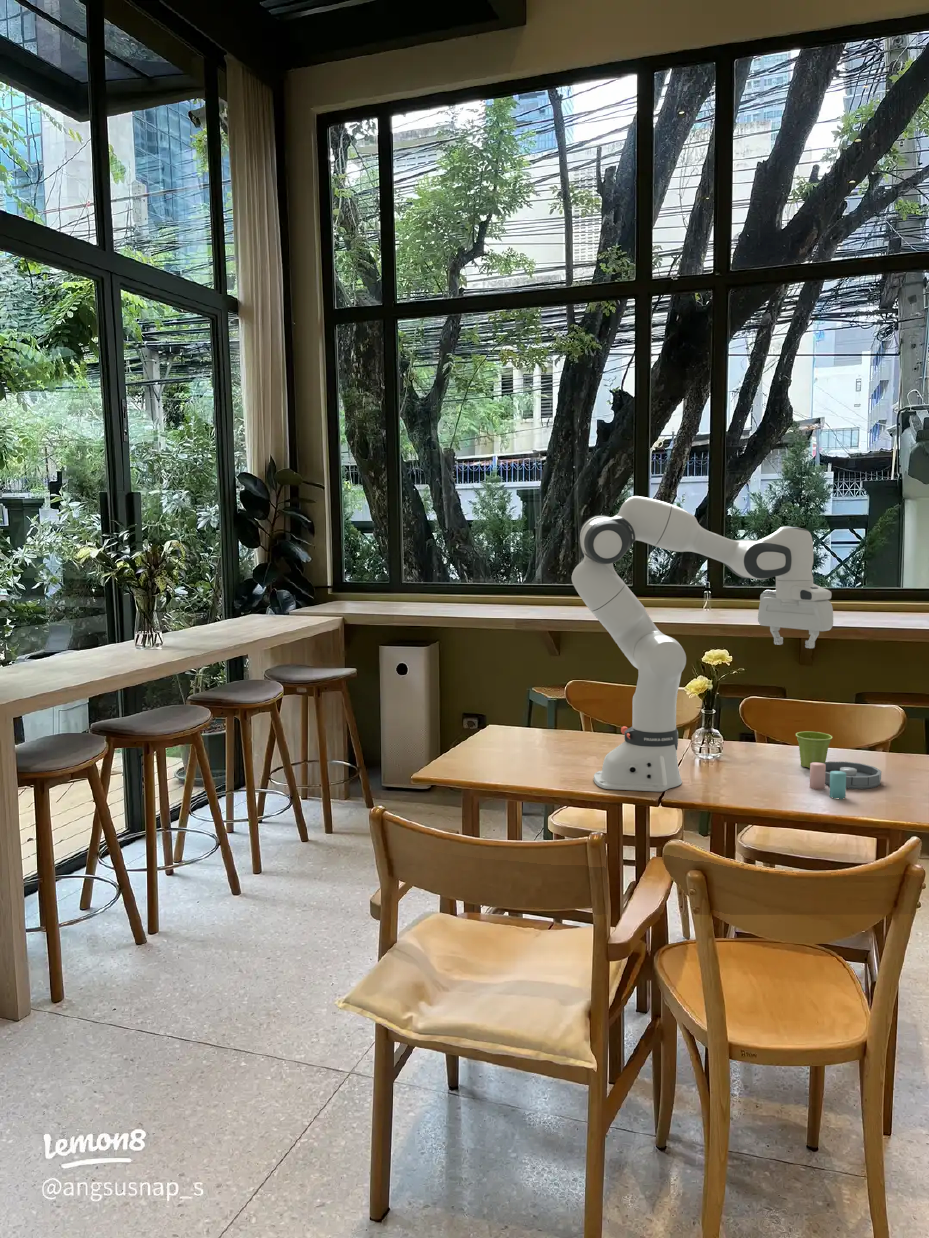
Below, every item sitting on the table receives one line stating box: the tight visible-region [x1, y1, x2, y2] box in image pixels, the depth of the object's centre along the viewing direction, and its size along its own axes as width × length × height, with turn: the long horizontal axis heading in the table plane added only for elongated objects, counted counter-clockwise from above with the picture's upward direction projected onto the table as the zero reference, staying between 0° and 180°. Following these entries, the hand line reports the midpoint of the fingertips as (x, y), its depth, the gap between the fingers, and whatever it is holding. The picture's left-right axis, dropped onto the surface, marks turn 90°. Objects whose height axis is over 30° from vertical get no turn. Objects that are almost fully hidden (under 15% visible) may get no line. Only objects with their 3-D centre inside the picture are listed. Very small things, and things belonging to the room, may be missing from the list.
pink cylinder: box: [809, 762, 826, 791], centre depth 229 cm, size 4×4×6 cm
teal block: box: [829, 771, 847, 800], centre depth 221 cm, size 4×4×6 cm
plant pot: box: [795, 731, 833, 769], centre depth 249 cm, size 9×9×9 cm
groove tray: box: [823, 761, 882, 790], centre depth 235 cm, size 15×15×3 cm
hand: (793, 646), depth 229 cm, fingers open, 8 cm apart
